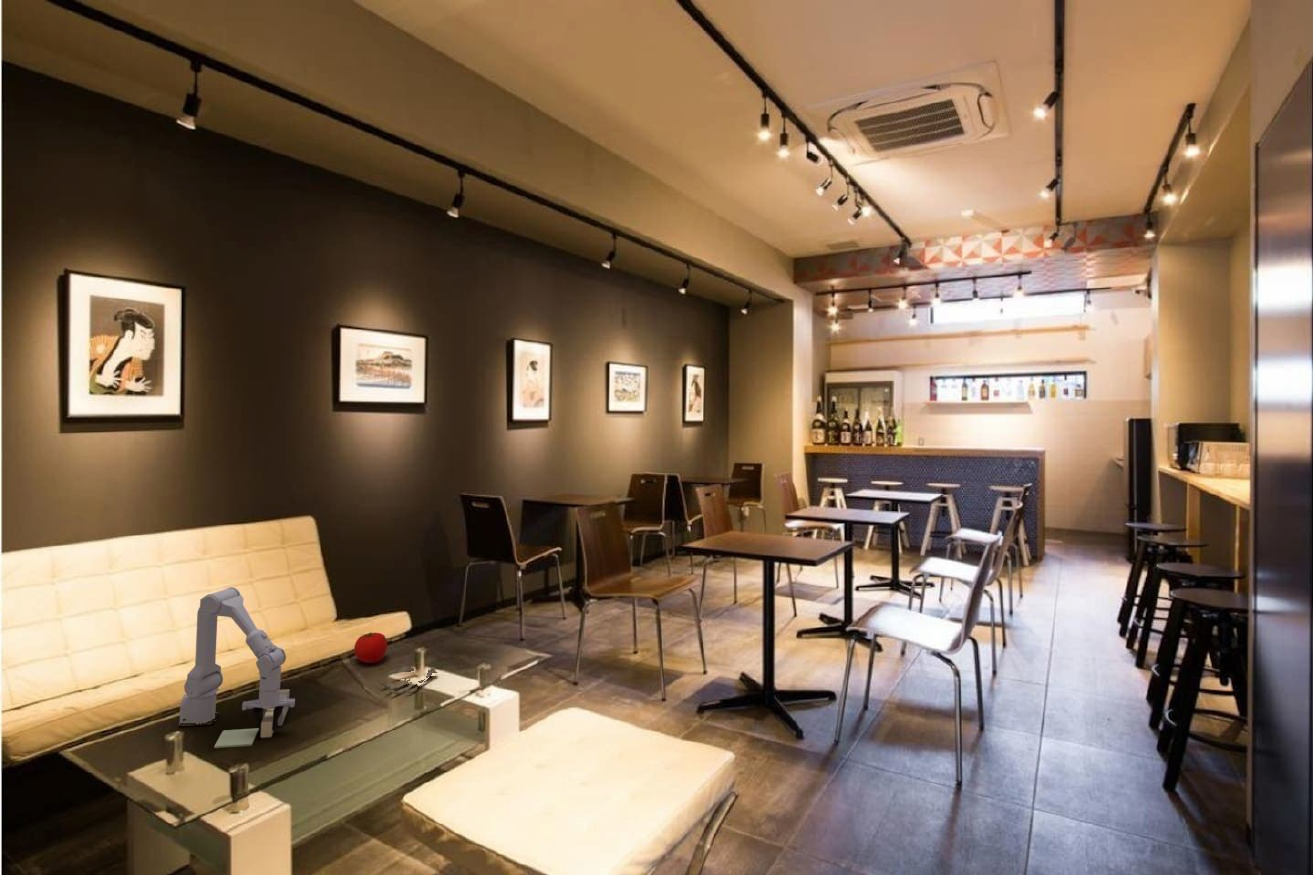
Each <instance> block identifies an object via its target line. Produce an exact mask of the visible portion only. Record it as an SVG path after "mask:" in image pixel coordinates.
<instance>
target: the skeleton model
mask: <svg viewBox="0 0 1313 875" xmlns="http://www.w3.org/2000/svg"><path fill="white" fill-rule="evenodd" d="M414 668H415V667H413V666H404V667H402V668H394V669H393V670H390V671H389V672H388V674H389V675H393V674H398V673H412V672H411V671H414ZM436 671H437V670H436V668H435V667H431V668H430V669H429V668H428V673H427V676H426V678H428V677H430V676H431V675H432V673H437V674H438V672H436ZM430 678H431V677H430ZM408 679H409V678H408ZM424 680H425V679H424ZM424 680H421V681H418V682H419V683H422V682H423V681H424ZM408 681H410V679H409V680H407V681H406V680H404V681H403V682H402V683H400V684H398V685H396V686H394V685H393V684H391V685H390V684H385V683H384V682H383V681H381V680H379V679H378V680H377V682H378V683H379V684H380V685H381V686H383V687H384V689H385V690H388V692H389V693H392V694H393V695H401V694H404V693H407V694H412V693H415V692H416V691H417V690H418V689H417V688H416V687H415V688H413V689H411V687H410V686H409V687H407V686H405V688H403V689H399V688H402V687H404V686H403V685H404V683H408ZM410 683H412V682H410ZM397 689H399V691H395V690H397ZM410 689H411V691H409V690H410Z"/></svg>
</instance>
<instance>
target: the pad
mask: <svg viewBox="0 0 1313 875" xmlns="http://www.w3.org/2000/svg"><path fill="white" fill-rule="evenodd" d="M258 732H259V727H257V728H254V727H253V728H241V729H227V730H225V729H224V730H223V729H222V732H221V734H219V737H218V739H217V741H216V743H214V744H215V745H214V747H213V748H214V749H220V748H221V749H222V748H223V749H224V748H239V747H251V746H253V744H254V741H255V739H256V737H257V735H258Z"/></svg>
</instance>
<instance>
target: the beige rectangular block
mask: <svg viewBox="0 0 1313 875" xmlns="http://www.w3.org/2000/svg"><path fill="white" fill-rule="evenodd" d="M273 711H274V709H269V710H267V711H266V713H265V715H264V718H263V720H262V722H261V731H260V738H261V739H262V738H264V739H265V738H272V736H273V734H274V731H272V727H273Z"/></svg>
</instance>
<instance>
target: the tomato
mask: <svg viewBox="0 0 1313 875" xmlns="http://www.w3.org/2000/svg"><path fill="white" fill-rule="evenodd" d="M360 635H361V636H359V638H357V639H356V641H355V644H354V646H353V650H354V655H355V657H356V658H357V659H358V660H359V661H361V662H363V663H366V664H367V663H368V664H370V663H371V664H373V663H375V664H376V663H378V662H380V661H381V660H382V659H383V658H384V656H385V655H386V652H387V649H388V642H387V639H386V636H385V634H383V633H380V632H371V631H370V632H369V633H364V634H361V633H360Z"/></svg>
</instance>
